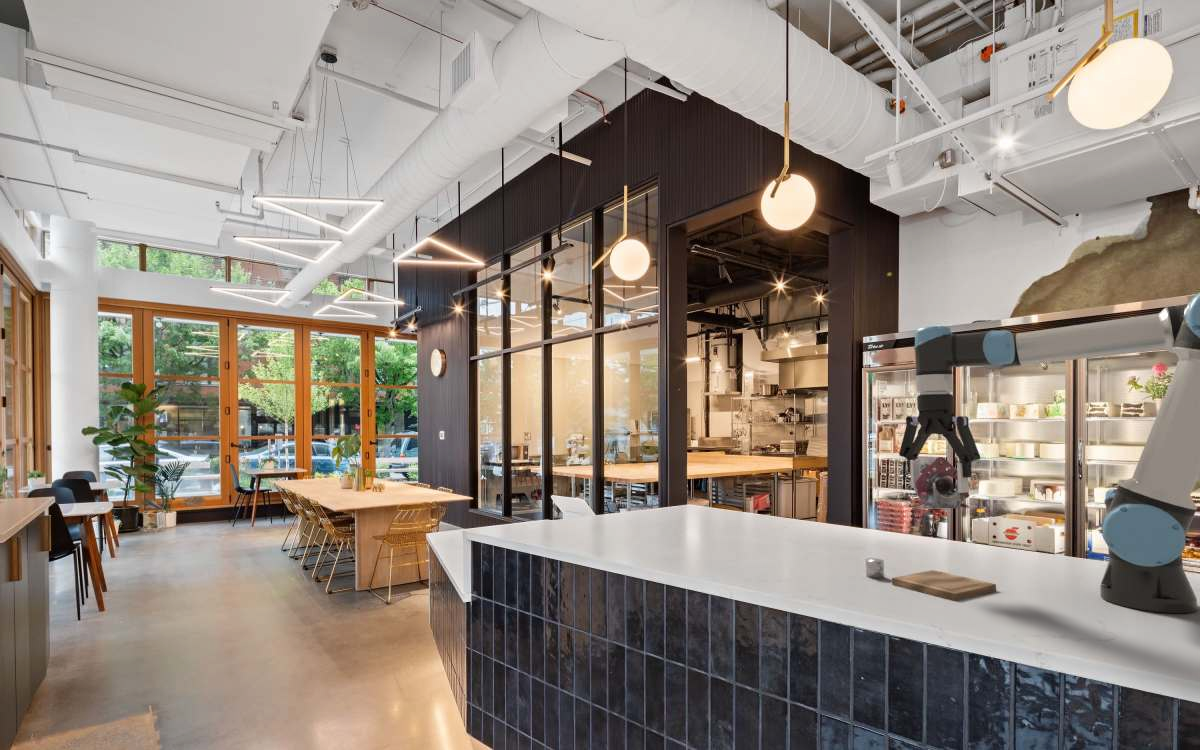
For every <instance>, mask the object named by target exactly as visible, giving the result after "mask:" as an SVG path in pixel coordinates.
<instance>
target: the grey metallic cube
mask: <svg viewBox="0 0 1200 750" xmlns="http://www.w3.org/2000/svg"><path fill="white" fill-rule="evenodd" d="M865 576H866V577H867V578H869V579H874V580H882V579H885V561H884V559H881V558H871V557H869V558H865Z"/></svg>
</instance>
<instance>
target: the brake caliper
mask: <svg viewBox="0 0 1200 750" xmlns="http://www.w3.org/2000/svg"><path fill="white" fill-rule="evenodd" d="M934 468H935V471H934V470H933V469H934ZM947 468H948V469H950V470H947ZM920 473H921V475H920V476H919V477H918V478H917V480H916V481H915V485H916V488H915V490H914V493H915V494H916V496H917V497H918V498H919V499H920V501H921V502H922V504H923V506H926V507H932V508H936V509H960V508H963V509H971V506H970V505H969V504H966V503H963V501H964V500H966V499H968V498H969V497H970V494H969V493H970V491H969V492H966V493H958V473H957V468H956V467H954V466H953V465H952V464H951V463H950V462H949V461H948V460H947V459H945V457H943V456H939V457H937V458H936V459H935V460H934V461H933V462H932V463H931V464H930V465H929V464H928V463H927V462H925V463H924V466H922V468H921V470H920ZM951 478H953V479H955V480H956V481H957V482H955V483H954V482H953V480H952V479H951ZM953 483H954V484H953ZM970 487H971V484H970V482H969V489H970Z"/></svg>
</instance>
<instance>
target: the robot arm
mask: <svg viewBox="0 0 1200 750" xmlns="http://www.w3.org/2000/svg"><path fill="white" fill-rule="evenodd" d="M913 350H914V358H915V372H916V373H915V375H916V376H915V378H916V379H915V384H916V385H915V386H916V392H917V393H919V395H917V397H916V404H917V407H916V408H917V410H918V416H906V417H905V426H906V427H905V430H904V433H903V437H902V441H901V443H900V444H901V445H900V449H899V451H898V454H899V456H900V457H902V458H905V459H906V462H907V463H906V464H907V472H908V474H910V487H911V488H912V489H916V485H915V481H916V480H917V478H918V477H919V476H920V475H921V473H920V470H921V469H922V468H921V459H919V457H918V456H919V455H920V453H921V451H922V449H923V447H924V446H925V444H926V442H927V441H928V439H929V437H930V436H932V435H942V437H944V439H946V441H947V442H948V444H949V445H950V446H951V448H952V451H953V452H954V453H955V455H956V456H957V458H958V459H959V462H956V466H957V467H956V469H957V473H958V481H957V482H958V493H966V492H969V493H970V488H969V483H970V481H969V478H972V476H973V474H972V472H973V471H972V463H973V462H975V461H980V460H981V454H980V452H979V450H978V447H977V444H976V441H975V439H974V437H973V434H972V432H971V428H970V425H969V417H968V416H966V415H962V416H961V415H960V416H959V415H958V416H955V414H954V410H955V399H954V395H953V394H951V393H953V391H954V380H953V378H954V377H953V376H954V375H953V374H954V373H953V368H961V367H983V368H985V369H987V370H992V371H993V370H1002V369H1006V368H1011V367H1018V366H1019V367H1020V366H1027V365H1037V364H1046V363H1053V362H1063V361H1072V360H1073V361H1074V360H1081V359H1090V358H1091V359H1092V358H1098V357H1099V358H1102V357H1107V356H1108V357H1110V356H1117V355H1118V356H1120V355H1125V354H1126V355H1127V354H1135V353H1146V352H1154V351H1162V350H1163V351H1164V350H1165V351H1167V352H1169V353H1171V354H1175V355H1176V356H1177V357H1178V362H1177V364H1176V366H1175V369H1174V372H1173V374H1172V377H1171V380H1170V382H1169V384H1168V387H1167V389H1166V391H1165V393H1164V394H1165V395H1164V397H1163V399H1162V402H1161V404H1160V407H1159V409H1158V411H1157V415H1156V416H1155V419H1154V422H1153V424H1152V427H1151V429H1150V432H1149V435H1148V437H1147V439H1146V442H1145V445H1144V447H1143V449H1142V452H1141V453H1140V456H1139V457H1140V458H1139V460H1138V462H1137V465H1136V468H1135V470H1134V472H1133V475H1132V477H1131V478H1129V479H1127V480H1123V481H1121V482H1119V483H1118V486H1117V488H1110V489H1108V490H1107V491H1106V492H1105V497H1104V504H1105V510H1106V511H1105V516H1104V517H1103V520H1102V522H1101V527H1100V528H1101V535H1102V538H1103V540H1104V543H1105V544H1106V545H1107V550H1108V563H1107V566H1106V568H1105V571H1104V574H1103V577H1102V579H1101V582H1100V587H1099V588H1100V590H1099V591H1100V597H1101V598H1102V599H1103V600H1105V601H1107V602H1110V603H1112V604H1115V605H1117V606H1118V605H1119V606H1122V607H1127V608H1130V609H1131V608H1132V609H1136V610H1142V611H1148V612H1157V613H1168V614H1189V613H1191V614H1192V613H1195V612H1196V611H1198V599H1197V596H1196V593H1195V592H1194V589H1193V588H1192V586H1191V583H1190V581H1189V580H1188V577H1187V575H1186V572H1185V570H1184V568H1183V567H1184V565H1183V563H1184V562H1183V552H1184V550H1185V547H1186V541H1187V538H1186V536H1187V535H1188V532H1189V528H1190V526H1191V524H1192V522H1193V519H1194V517H1195V514H1196V511H1197V510H1198V506H1197V505H1196V503H1195V502H1194V501H1193V499H1192V496H1191V494H1192V492H1193V490H1194V487H1195V485H1196V483H1197V480H1198V478H1199V476H1200V291H1198V293H1197V294H1195V295H1194V296H1193V298H1192V299H1190V301H1189V302H1187V303H1182V304H1179V305H1173V306H1168V307H1167V306H1166V307H1164V308H1163V309H1162V310H1161V311H1160V312H1158V313H1153V314H1145V315H1139V316H1133V317H1125V318H1118V319H1110V320H1104V321H1097V322H1090V323H1082V324H1074V325H1068V326H1061V327H1055V328H1054V327H1053V328H1047V329H1042V330H1040V329H1039V330H1034V331H1027V332H1019V333H1014V334H1013V333H1012V331H1010V330H995V329H994V330H993V329H992V330H989V331H979V332H967V333H953V332H952V330H951V328H950V327H949V326H945V325H938V326H937V325H936V326H926V327H925V326H924V327H920V328H918V329H916V331H915V333H914V348H913ZM918 425H920V427H919V429H918ZM953 425H955V426H956V429H957V431H958V433H957V431H956V429H955V428H954V427H953ZM917 430H918V431H917ZM916 433H917V435H916ZM957 434H958V435H959V436H958V435H957ZM915 436H916V437H915ZM959 437H960V438H959ZM960 439H961V440H960Z"/></svg>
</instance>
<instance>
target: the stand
mask: <svg viewBox="0 0 1200 750" xmlns="http://www.w3.org/2000/svg"><path fill="white" fill-rule="evenodd" d="M891 585H894V586H898V587H901V588H904V589H905V588H906V589H910V590H912V591H913V590H914V591H917V592H921V593H925V594H928V595H933V596H935V597H941V598H944V599H947V600H951V601H954V602H955V601H958V600H964V599H967V598H972V597H977V596H980V595H984V594H988V593H994V592H997V584H996V583H992V582H988V581H987V582H986V581H983V580H979V579H974V578H970V577H966V576H965V577H964V576H962V575H961V576H960V575H956V574H951V573H946V572H943V571H938V570H934V569H931V570H927V571H926V570H925V571H921V572H916V573H911V574H906V575H901V576H900V575H899V576H895V577H891Z"/></svg>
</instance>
